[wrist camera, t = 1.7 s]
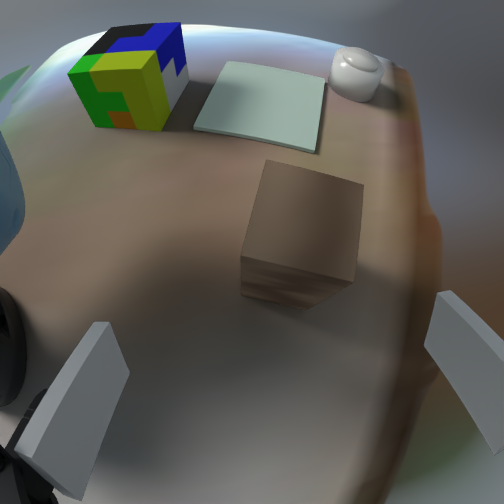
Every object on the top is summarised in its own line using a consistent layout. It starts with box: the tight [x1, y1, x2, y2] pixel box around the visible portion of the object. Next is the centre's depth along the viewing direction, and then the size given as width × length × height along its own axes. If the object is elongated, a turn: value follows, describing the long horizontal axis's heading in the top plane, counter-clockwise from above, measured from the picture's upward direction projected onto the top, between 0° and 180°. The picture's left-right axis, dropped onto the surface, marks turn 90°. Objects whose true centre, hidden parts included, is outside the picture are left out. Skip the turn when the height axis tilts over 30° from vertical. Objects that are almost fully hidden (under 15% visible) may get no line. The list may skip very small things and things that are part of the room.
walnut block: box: [240, 160, 364, 310], centre depth 21 cm, size 6×6×12 cm
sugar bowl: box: [328, 47, 384, 102], centre depth 33 cm, size 7×7×6 cm
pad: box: [193, 61, 325, 154], centre depth 33 cm, size 14×14×1 cm
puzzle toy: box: [67, 22, 189, 132], centre depth 29 cm, size 10×10×10 cm
